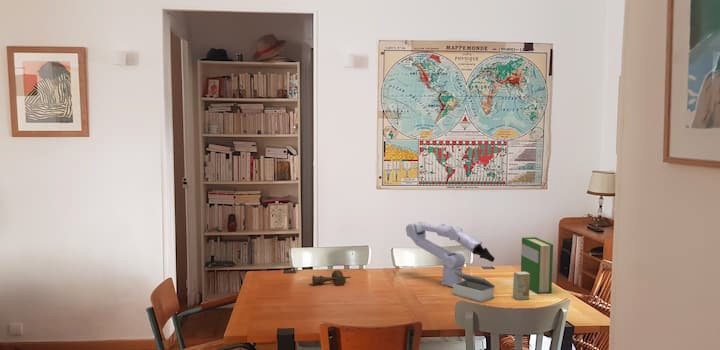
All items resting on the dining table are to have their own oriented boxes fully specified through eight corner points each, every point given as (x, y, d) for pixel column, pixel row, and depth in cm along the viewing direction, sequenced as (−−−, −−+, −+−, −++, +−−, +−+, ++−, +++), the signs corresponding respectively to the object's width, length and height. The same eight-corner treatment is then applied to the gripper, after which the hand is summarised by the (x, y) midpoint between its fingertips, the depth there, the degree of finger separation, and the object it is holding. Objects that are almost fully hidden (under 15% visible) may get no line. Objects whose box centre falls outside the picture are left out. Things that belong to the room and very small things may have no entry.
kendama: (311, 283, 278) (349, 279, 282) (314, 289, 268) (353, 285, 273) (310, 272, 277) (348, 268, 282) (313, 277, 268) (352, 274, 272)
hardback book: (551, 293, 260) (553, 244, 258) (537, 294, 258) (538, 245, 256) (534, 283, 277) (535, 237, 275) (520, 283, 276) (521, 237, 274)
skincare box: (517, 300, 249) (518, 274, 248) (512, 297, 253) (513, 271, 252) (529, 299, 251) (530, 273, 250) (524, 296, 255) (525, 271, 254)
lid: (454, 273, 258) (454, 271, 258) (465, 280, 264) (465, 278, 264) (483, 280, 246) (484, 278, 246) (494, 287, 252) (494, 285, 252)
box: (452, 294, 258) (453, 284, 257) (465, 290, 264) (465, 280, 264) (481, 302, 246) (481, 291, 246) (493, 297, 253) (493, 287, 252)
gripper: (468, 233, 260) (491, 248, 251) (478, 239, 271) (500, 254, 263) (460, 245, 260) (482, 260, 252) (470, 251, 271) (492, 266, 263)
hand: (491, 258), depth 257 cm, fingers open, 7 cm apart
